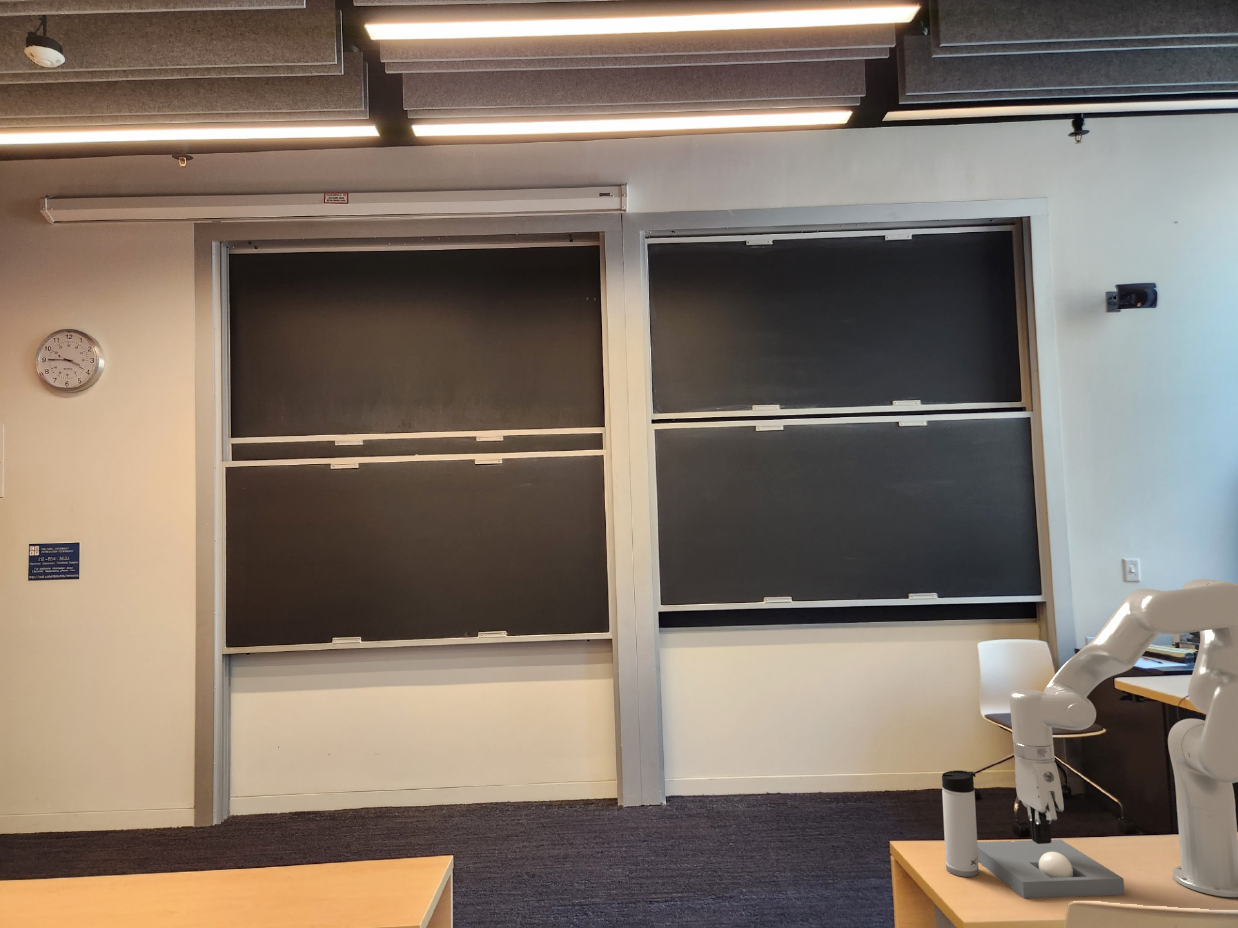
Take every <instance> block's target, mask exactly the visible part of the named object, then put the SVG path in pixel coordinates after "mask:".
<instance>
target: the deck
mask: <svg viewBox="0 0 1238 928" xmlns="http://www.w3.org/2000/svg"><path fill="white" fill-rule="evenodd" d="M1011 841H1012V840H1010V841H1009V840H1004V841H1002V840H1001V841H977V848H978V863H979V864H980V865H982V866H983V867H984V866H985V867H984V868H986V869H987V870H988V871H990V872H991V873H992V874H993V875H995V876H996V878H998V879H999V880H1001V881H1002V882H1003V883H1004V884H1005V885H1007V886H1008V888H1010V889H1012V890H1013V891H1014V892H1015V893H1017V894H1018V895H1019V896H1021V897H1022V898H1023V899H1037V898H1039V899H1041V898H1043V899H1044V898H1045V899H1046V898H1066V897H1068V898H1070V897H1092V896H1095V897H1097V896H1124V895H1125V882H1124V878H1123V877H1122V876H1120V875H1119V874H1117V873H1115V872H1113V870H1111V869H1109V868H1107V867H1106V866H1104V865H1103V864H1101V863H1099V862H1098V861H1096V860H1094V858H1091V857H1090V856H1088V855H1086V854H1085V853H1084V852H1082V851H1080V850H1078V849H1077V848H1076V847H1073V846H1072V845H1070V844H1069V843H1067V842H1066V841H1064V840H1062V839H1060V838H1059V839H1051V843H1047V844H1037V843H1036V842H1034V841H1033V840H1032V839H1031V840H1030V839H1029V840H1014V841H1015V842H1011ZM1047 852H1057V853H1060V854H1062V855H1063V856H1065V857H1066V858H1067V859H1068V860H1069V862H1070V863H1071V865H1072V869H1073V876H1072V877H1065V878H1050V877H1049V876H1047V875H1046V874H1044V873H1043V872H1042V871H1040V870H1039V860H1040V858H1041V856H1042V855H1043V854H1045V853H1047Z"/></svg>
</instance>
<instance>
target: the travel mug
mask: <svg viewBox="0 0 1238 928" xmlns="http://www.w3.org/2000/svg"><path fill="white" fill-rule="evenodd" d="M974 778H976V773H975V772H974V770H973V771H972V770H971V771H968V770H959V769H958V770H948V771H946V772H943V773H942V774H941V782H942V783H941V789H942V790H941V791H942V793H941V795H942V813H943V831H944V832H943V833H944V851H945V852H944V853H945V854H944V855H945V856H944V857H945V869H946V871H948V872H949V873H950V874H952V875H954V876H958V877H963V878H971V877H976V876H977V875H979V874H980V873H979V862H978V848H977V842H978V833H977V832H978V831H977V830H978V829H977V816H976V815H977V813H976V810H977V809H976V796H975V795H976V794H975V782H974V781H975V780H974Z"/></svg>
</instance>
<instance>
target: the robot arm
mask: <svg viewBox="0 0 1238 928" xmlns="http://www.w3.org/2000/svg"><path fill="white" fill-rule="evenodd" d="M1196 632H1197V633H1198V632H1199V635H1200V638H1199V639H1200V640H1199V647H1198V652H1197V655H1196V660H1195V662H1194V663H1195V664H1194V667H1193V670H1192V674H1191V677H1190V681H1189V684H1188V689H1187V696H1188V699H1189V701H1190V703H1191V705H1192V706H1193V707H1194V708H1195V709H1196V710H1198V711H1200V712H1201V713H1203V714H1204V715H1205V720H1203V719H1200V718H1185V719H1182V720H1180V721H1177V722H1175V724H1174V725H1173V726H1172V727H1171V728H1170V730H1169V733H1168V736H1167V746H1168V752H1169V756H1170V761H1171V766H1172V770H1173V771H1172V772H1173V777H1174V785H1175V797H1176V812H1177V828H1178V839H1179V850H1180V852H1179V853H1180V863H1181V864H1180V865H1179V866H1176V867H1173V869H1172V877H1173V879H1174V880H1175V881H1176V882H1177V883H1178V884H1180V885H1182V886H1183V887H1186V888H1189V889H1191V890H1193V891H1196V892H1199V893H1202V894H1203V893H1204V894H1207V895H1211V896H1216V897H1223V898H1238V825H1237V814H1236V798H1235V791H1234V786H1233V784H1235V783H1238V583H1235V582H1232V581H1223V580H1216V579H1209V578H1208V579H1207V578H1200V579H1198V578H1197V579H1193V580H1190V581H1188V582H1187V583H1185V584H1184V585H1183V586H1182V588H1181V589H1174V590H1173V589H1171V590H1160V589H1151V588H1139V589H1136V590H1134V591H1132V592H1131V593H1129V594H1128V595H1127V596H1126V597H1125V598H1124V600H1122V602H1121V604H1119V606H1118V607H1117V608H1116V610H1115V611H1114V612H1113V613H1112V615H1111V616H1110V617H1109V618H1108V620H1107V621H1106V623H1104V625H1103V626H1102V628H1101V629H1100V630H1099V631H1098V633H1097V634H1096V635H1095V636H1094V638H1093V639H1091V641H1090V642H1088V644H1087V645H1085V646H1084V647H1082V648H1081V649H1080V650H1079V651H1078V652H1077V653H1075V654H1074V655H1073V656H1072V657H1071V658H1069V659H1068V660H1067V661H1066V662H1065V663H1064V664H1063V665H1062V666H1061V667H1060V669H1058V671H1057V672H1056V673H1055V674H1054V676H1053V677H1052V679H1051V680H1050V681H1049V683H1048V684H1047V685H1046V686H1045V688H1044V689H1043V690H1042V691H1041V690H1037V689H1029V688H1027V689H1026V688H1025V689H1024V688H1023V689H1016V690H1015V689H1014V690H1012V692H1011V693H1010V694H1009V709H1010V720H1011V731H1012V732H1011V733H1012V734H1011V735H1012V744H1013V756H1014V759H1015V760H1014V777H1015V778H1014V781H1015V790H1016V795H1017V798H1018V800H1020V801H1021V803H1022V805H1023V806H1024V807H1025V808H1026V810H1027V816H1028V819H1029V821H1030V830H1031V840H1033V841H1034V842H1036V843H1037V844H1047V843H1051V840H1052V835H1051V833H1052V832H1051V824H1052V821H1057V820H1058V817H1057V812H1061V813H1062V812H1064V810H1065V808H1064V797H1063V790H1062V785H1061V780H1060V778H1061V777H1060V774H1059V771H1058V765H1057V763H1056V761H1055V750H1054V749H1055V748H1054V739H1053V728H1057V729H1064V730H1070V731H1082V730H1086V729H1088V728H1090V727H1092V725H1094V723H1095V721H1096V718H1097V710H1096V707H1095V706H1094V704H1093V703H1092V701H1091V700H1090V699H1089V698H1088V696H1089V695H1090V694H1091V692H1092V691H1093V690H1094V689H1095V688H1096V687H1097V686H1098V685H1099V684H1101V683H1102V682H1103V681H1104V680H1106V679H1108V678H1111V677H1113V676H1116V675H1119V674H1123V673H1124V672H1127V671H1129V670H1131V669H1132V668H1134V667H1135V665H1136V664H1137V662H1138V661H1139V660H1140V659H1141V657H1142V656H1143V655H1144V654H1145V652H1146V651H1147V649H1148V648H1149V647H1150V646H1151V645H1152V644H1153V642H1154V641H1155V640H1156V639H1157V637H1158V636H1159V635H1179V634H1182V635H1183V634H1190V633H1196ZM1056 811H1057V812H1056Z"/></svg>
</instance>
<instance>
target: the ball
mask: <svg viewBox="0 0 1238 928" xmlns="http://www.w3.org/2000/svg"><path fill="white" fill-rule="evenodd" d="M1039 870H1040V871H1042V872H1043V873H1044V874H1046V875H1047V876H1049V877H1050V878H1065V877H1072V876H1073V869H1072V865H1071V863H1070V862H1069V860H1068V859H1067V858H1066V857H1065V856H1063V855H1062V854H1060V853H1057V852H1047V853H1045V854H1043V855H1042V856H1041V858H1040V860H1039Z"/></svg>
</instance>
